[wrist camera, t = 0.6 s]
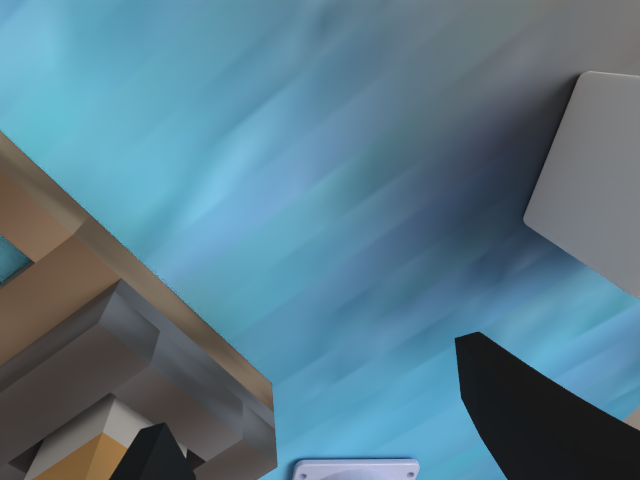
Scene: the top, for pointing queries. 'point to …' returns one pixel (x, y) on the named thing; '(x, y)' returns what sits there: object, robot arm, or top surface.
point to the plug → (90, 443)
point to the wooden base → (112, 341)
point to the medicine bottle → (595, 180)
